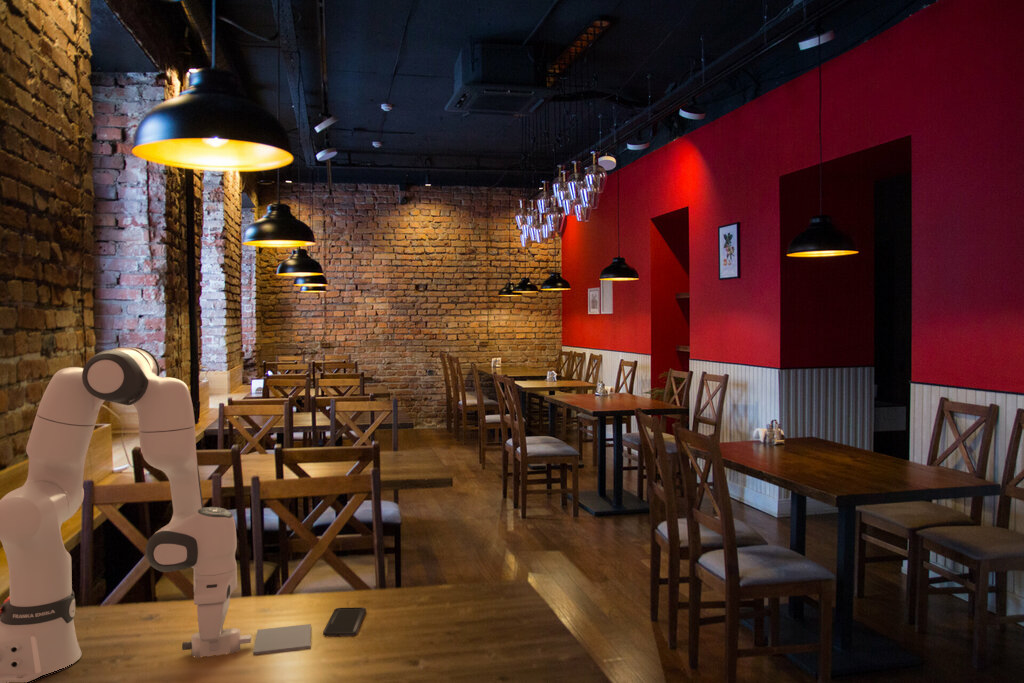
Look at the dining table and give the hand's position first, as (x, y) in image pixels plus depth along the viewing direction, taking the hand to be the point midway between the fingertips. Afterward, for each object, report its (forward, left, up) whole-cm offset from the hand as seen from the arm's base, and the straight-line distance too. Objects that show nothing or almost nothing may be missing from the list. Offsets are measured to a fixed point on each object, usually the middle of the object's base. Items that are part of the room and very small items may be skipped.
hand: (216, 644), depth 158 cm
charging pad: (+14, +2, -2) cm, 14 cm away
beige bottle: (0, 0, -2) cm, 2 cm away
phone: (+28, +8, -2) cm, 29 cm away
